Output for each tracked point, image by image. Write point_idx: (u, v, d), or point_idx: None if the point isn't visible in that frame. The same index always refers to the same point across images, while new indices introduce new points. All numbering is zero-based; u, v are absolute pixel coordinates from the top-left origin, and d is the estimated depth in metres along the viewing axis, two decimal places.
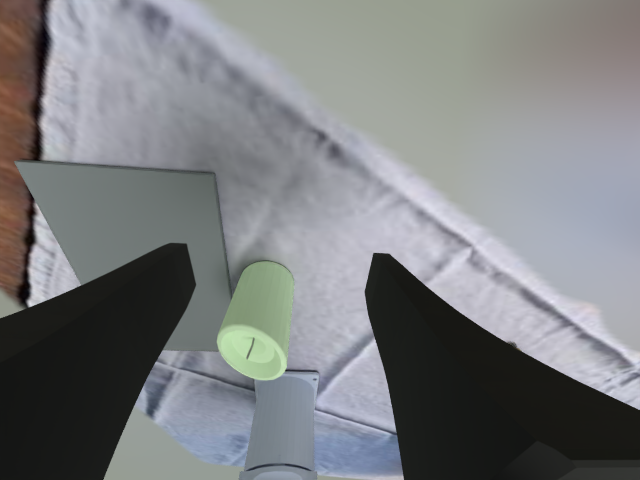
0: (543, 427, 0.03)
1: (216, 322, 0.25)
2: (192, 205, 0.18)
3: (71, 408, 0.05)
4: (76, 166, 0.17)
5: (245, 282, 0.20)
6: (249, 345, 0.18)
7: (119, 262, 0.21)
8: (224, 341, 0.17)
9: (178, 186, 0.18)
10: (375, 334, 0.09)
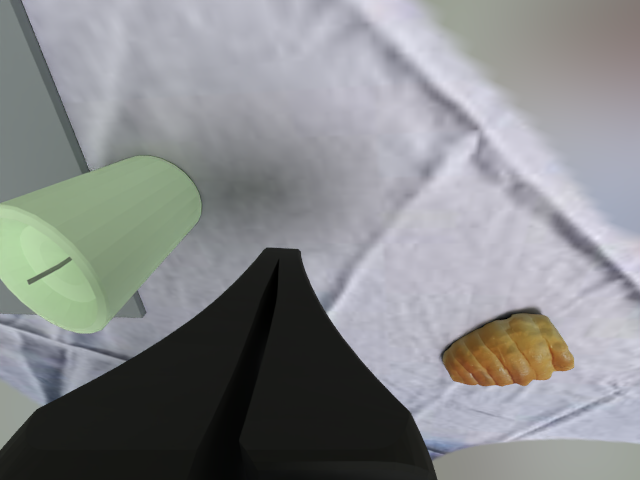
0: (265, 426, 0.03)
1: None
2: None
3: (247, 409, 0.05)
4: None
5: (89, 173, 0.11)
6: (65, 269, 0.10)
7: None
8: None
9: None
10: None
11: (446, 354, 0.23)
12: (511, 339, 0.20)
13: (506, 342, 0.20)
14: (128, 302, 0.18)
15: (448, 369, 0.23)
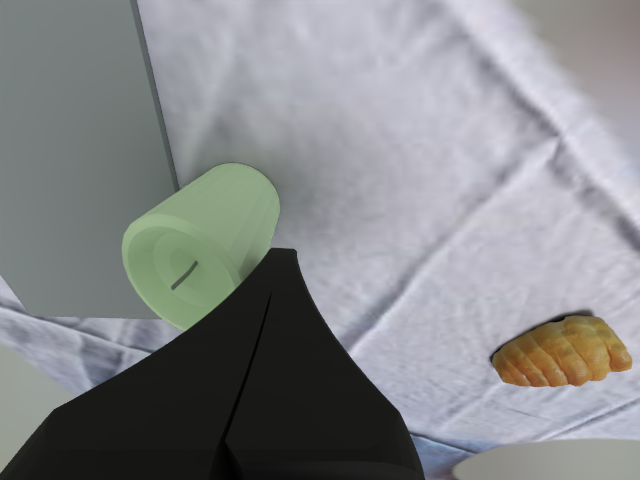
0: (253, 426, 0.03)
1: None
2: (94, 36, 0.11)
3: None
4: None
5: (193, 181, 0.12)
6: (188, 275, 0.10)
7: None
8: (136, 260, 0.09)
9: None
10: None
11: (496, 356, 0.23)
12: (568, 341, 0.20)
13: (563, 344, 0.20)
14: None
15: (499, 371, 0.23)
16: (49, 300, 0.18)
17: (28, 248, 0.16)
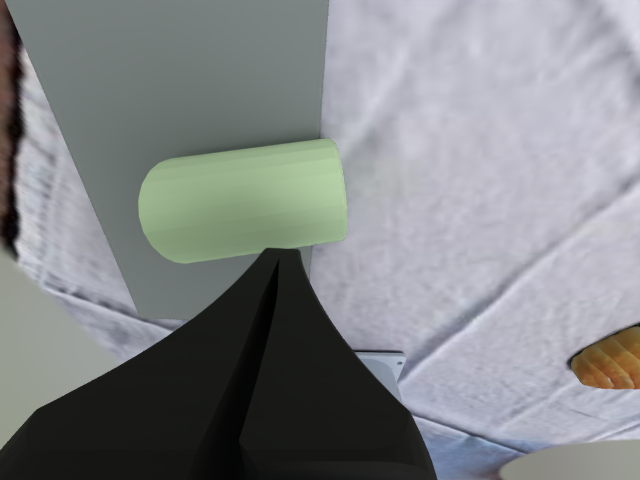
0: (265, 427, 0.03)
1: None
2: (284, 53, 0.11)
3: (247, 409, 0.05)
4: None
5: None
6: None
7: None
8: None
9: (267, 7, 0.10)
10: None
11: (577, 360, 0.24)
12: None
13: None
14: None
15: (580, 374, 0.24)
16: (162, 303, 0.18)
17: (158, 253, 0.16)
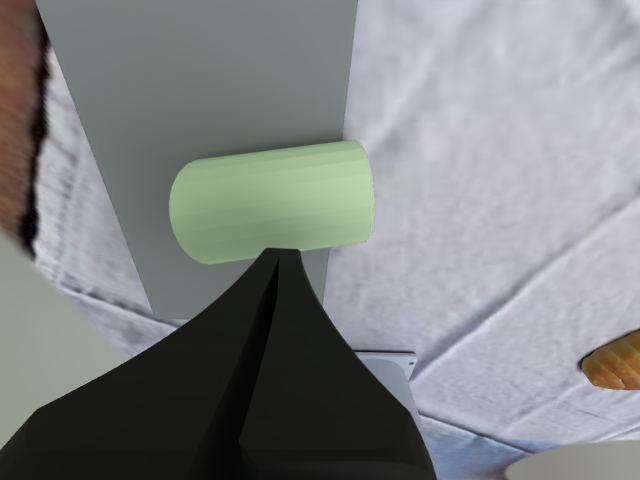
0: (266, 426, 0.03)
1: None
2: (310, 55, 0.11)
3: (247, 409, 0.05)
4: None
5: None
6: None
7: (177, 170, 0.13)
8: None
9: (296, 10, 0.10)
10: None
11: (587, 361, 0.24)
12: None
13: None
14: None
15: (591, 375, 0.24)
16: (178, 303, 0.19)
17: (176, 253, 0.16)
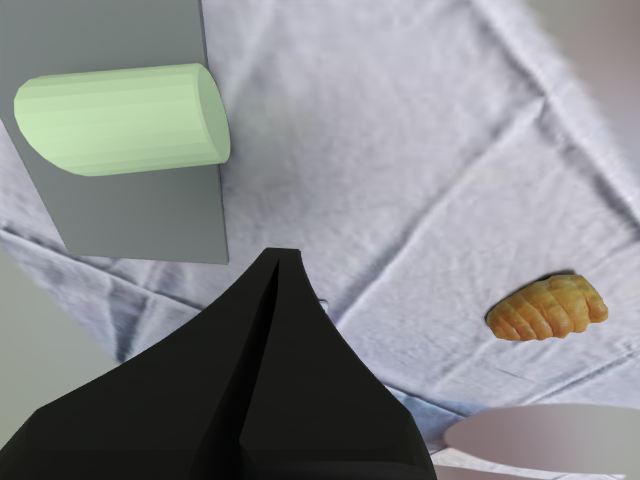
0: (266, 426, 0.03)
1: (199, 214, 0.19)
2: None
3: (247, 409, 0.05)
4: None
5: None
6: None
7: None
8: None
9: None
10: None
11: (490, 314, 0.26)
12: (552, 295, 0.23)
13: (548, 298, 0.23)
14: (219, 248, 0.21)
15: (493, 327, 0.26)
16: (88, 239, 0.20)
17: (76, 185, 0.18)
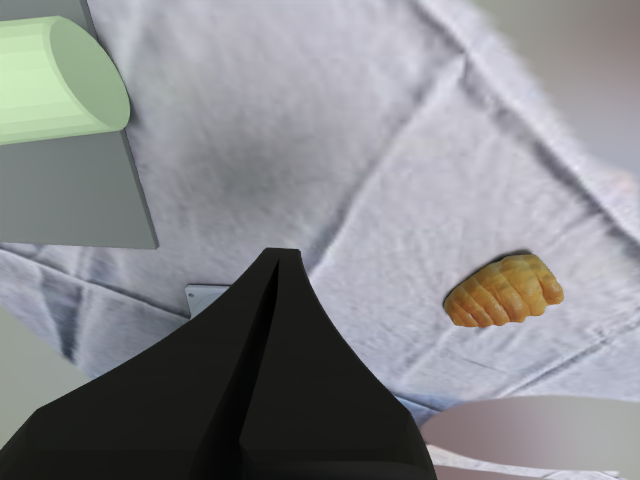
0: (265, 426, 0.03)
1: (115, 194, 0.18)
2: None
3: (247, 409, 0.05)
4: None
5: None
6: None
7: None
8: None
9: None
10: None
11: (447, 301, 0.25)
12: (504, 277, 0.22)
13: (500, 279, 0.22)
14: (143, 232, 0.20)
15: (449, 314, 0.25)
16: (4, 224, 0.19)
17: None
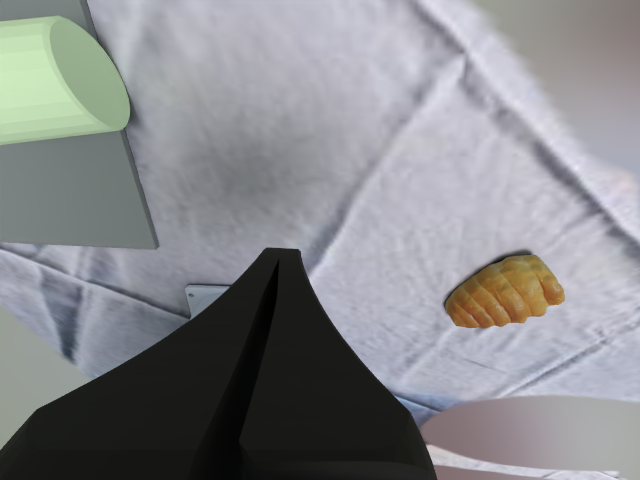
0: (265, 426, 0.03)
1: (115, 194, 0.18)
2: None
3: (247, 409, 0.05)
4: None
5: None
6: None
7: None
8: None
9: None
10: None
11: (448, 302, 0.25)
12: (505, 277, 0.22)
13: (501, 280, 0.22)
14: (143, 232, 0.20)
15: (451, 315, 0.25)
16: (4, 224, 0.19)
17: None
